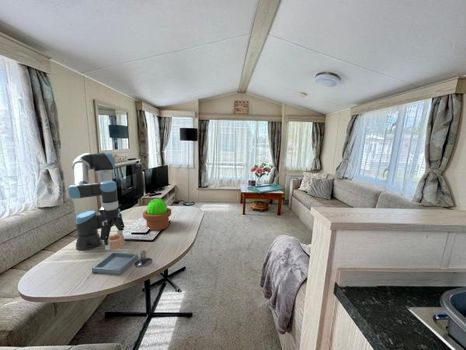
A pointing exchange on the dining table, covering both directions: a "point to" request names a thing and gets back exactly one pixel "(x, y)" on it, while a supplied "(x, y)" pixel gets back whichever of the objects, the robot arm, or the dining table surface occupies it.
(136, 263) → the dark grey rounded piece
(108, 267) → the tray
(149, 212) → the potted cactus
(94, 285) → the dining table surface
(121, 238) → the tan round bowl
